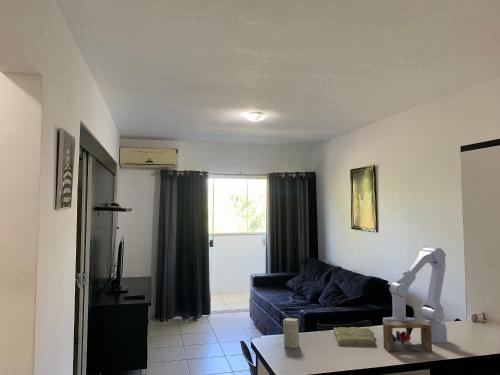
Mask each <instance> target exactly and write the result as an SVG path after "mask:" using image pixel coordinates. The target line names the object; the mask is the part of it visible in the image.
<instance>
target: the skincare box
mask: <svg viewBox="0 0 500 375" xmlns="http://www.w3.org/2000/svg"><path fill="white" fill-rule="evenodd" d="M282 323H283V347H284V348H291V349H298V348H299V347H300V332H299V331H300V328H299V319H298V318H291V317H286V318H284V319H283V320H282Z"/></svg>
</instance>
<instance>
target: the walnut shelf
mask: <svg viewBox="0 0 500 375" xmlns="http://www.w3.org/2000/svg"><path fill="white" fill-rule="evenodd" d="M392 328H393V329H406V328H413V329H420V343H415V344H412V343H411V344H393V335H394V333H393V331H392ZM382 331H383V333H382V334H383V335H382V336H383V348H384V350H386V352H387V353H388V354H389V353H391V354H392V353H398V354H399V353H402V354H403V353H411V354H412V353H414V354H416V353H424V354H425V353H431V354H432V353H433V346H432V345H433V343H432V337H431V325H430V324H428V323H427V322H425V321H424V320H423V321H421V320H418V321H417V320H416V321H383V320H382Z"/></svg>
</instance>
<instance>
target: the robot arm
mask: <svg viewBox="0 0 500 375" xmlns="http://www.w3.org/2000/svg"><path fill="white" fill-rule="evenodd" d="M446 256H447V254H446V252H445V251H444V250H443V248H441V247H431V246H430V247H429V246H423V247H422V248H421V249H420V251H419V252H418V256H417V258H416V259H415V260H414V262H413V263H412V265H411V266H410V268H409V269H405V270H403V271H402V274H401V275H400V276H399V277H398V279H396V281H395V282H392V283H391V284H390V287H389V288H388V289H389V292H390V294H391V297H392V298H391V299H392V302H391V303H392V316H389V317H387V316H386V317H382V322H383V321H417V319H416V318H415V317H407V315H406V314H407V310H406V309H407V308H406V305H407V304H406V303H407V302H406V296H407V295H408V294H409V288H410V286H412V284H414V281H415V280H416V278H417V276H416V275H417V273H419V272H420V270H421V269H422V268H423V267H424V266H425V265H426V264H429V265H430V266H431V275H430V281H429V286H428V291H427V292H428V293H427V298H426V300H424V301H423V302H422V304H421V306H420V308H419V316H420V317H421V318H422V320H423V321H425V322H427V323H428V324H430V325H431V337H432V344H448V343H449V342H448V335H447V334H448V331H447V330H448V329H447V325H446V323H445V322H444V318H445V317H444V315H445V314H444V307H443V305H442V304H441V302H440V301H441V298H442V297H441V296H442V289H443V283H444V279H445V272H446ZM393 329H394V328H392V332H393ZM413 329H414V328H405V332H406V336H407V335H408V336H410V337H411V334H412V331H413Z"/></svg>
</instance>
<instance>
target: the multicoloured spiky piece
mask: <svg viewBox="0 0 500 375" xmlns="http://www.w3.org/2000/svg"><path fill="white" fill-rule="evenodd" d="M395 335H396V336H395ZM411 337H412V336H411V335H410V336H408V335H407V336H406V331H403V330H402V331H401V332H400V331H399V330H396V331H395V334H393V344H412V342H411Z"/></svg>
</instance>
